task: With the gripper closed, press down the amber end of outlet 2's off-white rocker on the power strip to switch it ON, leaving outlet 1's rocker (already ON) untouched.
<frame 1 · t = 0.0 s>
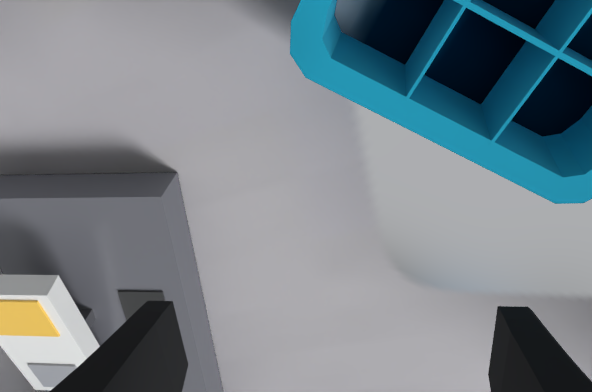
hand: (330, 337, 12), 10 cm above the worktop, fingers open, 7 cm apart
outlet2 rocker: (45, 338, 23), point 4 cm above the worktop, hinge at -11.0°
power strip: (140, 353, 28), on the worktop
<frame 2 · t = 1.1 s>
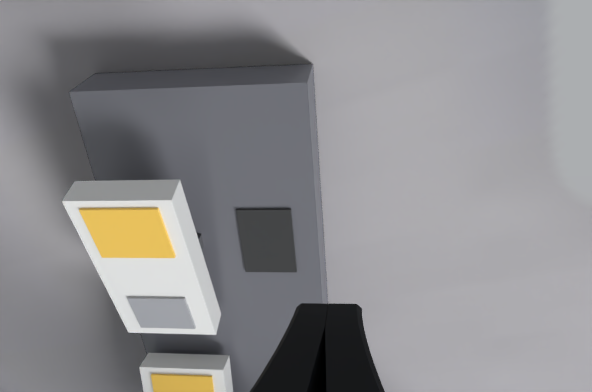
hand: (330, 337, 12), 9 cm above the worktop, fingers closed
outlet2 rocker: (150, 265, 19), point 4 cm above the worktop, hinge at -11.0°
power strip: (239, 297, 24), on the worktop
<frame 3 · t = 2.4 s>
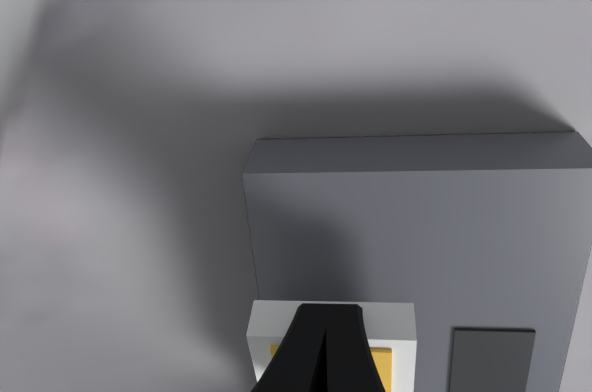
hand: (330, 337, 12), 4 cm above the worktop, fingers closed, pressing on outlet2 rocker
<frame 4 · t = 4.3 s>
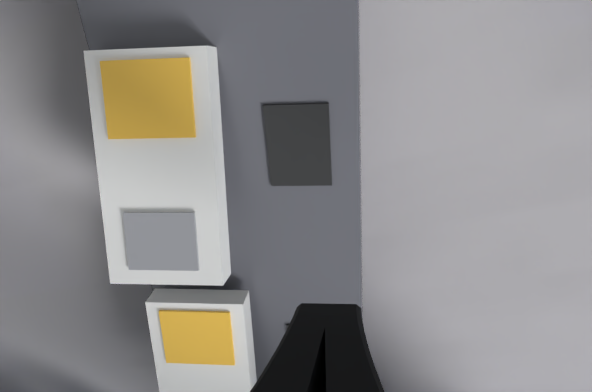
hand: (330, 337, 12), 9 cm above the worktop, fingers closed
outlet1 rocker: (207, 377, 21), point 4 cm above the worktop, hinge at 11.0°
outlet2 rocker: (161, 169, 16), point 4 cm above the worktop, hinge at 17.8°, touching power strip
power strip: (258, 228, 21), on the worktop
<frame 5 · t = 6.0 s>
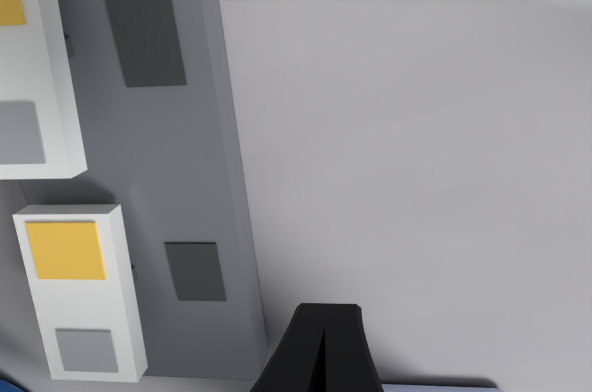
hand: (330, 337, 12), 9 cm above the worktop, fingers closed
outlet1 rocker: (83, 296, 21), point 4 cm above the worktop, hinge at 11.0°
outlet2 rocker: (1, 61, 16), point 4 cm above the worktop, hinge at 12.0°
power strip: (139, 147, 21), on the worktop
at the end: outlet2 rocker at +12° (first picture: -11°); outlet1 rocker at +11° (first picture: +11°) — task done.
